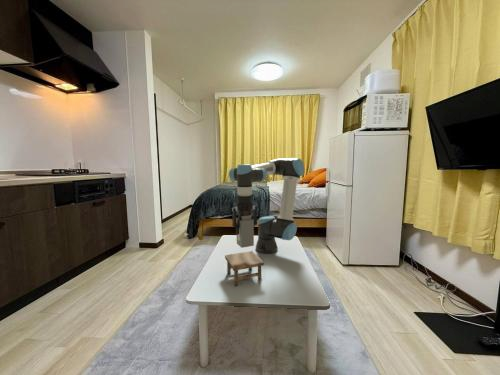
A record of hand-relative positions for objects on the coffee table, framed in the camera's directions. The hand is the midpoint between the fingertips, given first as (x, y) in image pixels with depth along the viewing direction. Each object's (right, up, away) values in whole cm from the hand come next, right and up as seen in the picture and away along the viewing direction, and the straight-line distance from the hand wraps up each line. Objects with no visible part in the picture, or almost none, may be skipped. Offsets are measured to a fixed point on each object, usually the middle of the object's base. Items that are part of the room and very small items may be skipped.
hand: (245, 239), depth 114 cm
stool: (-1, -21, +2) cm, 21 cm away
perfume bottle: (0, -3, 0) cm, 3 cm away
